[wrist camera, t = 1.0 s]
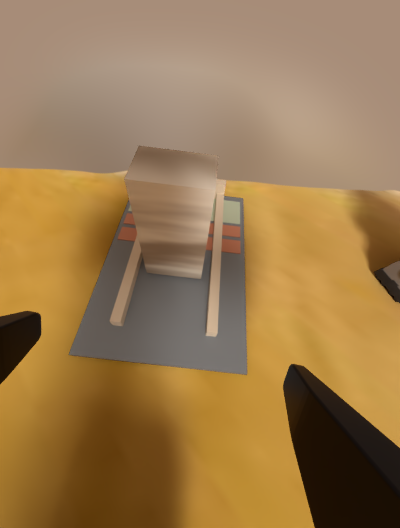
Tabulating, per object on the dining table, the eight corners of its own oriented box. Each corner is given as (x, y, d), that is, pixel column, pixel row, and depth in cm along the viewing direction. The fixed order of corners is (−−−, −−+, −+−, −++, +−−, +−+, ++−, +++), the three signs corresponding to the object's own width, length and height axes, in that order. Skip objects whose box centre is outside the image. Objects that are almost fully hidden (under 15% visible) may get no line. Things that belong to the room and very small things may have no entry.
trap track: (246, 374, 20) (255, 369, 18) (69, 355, 20) (54, 347, 18) (242, 199, 33) (247, 182, 31) (134, 186, 33) (131, 168, 31)
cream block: (200, 279, 25) (215, 190, 15) (146, 272, 25) (124, 179, 15) (203, 250, 27) (218, 155, 17) (154, 244, 27) (138, 145, 17)
